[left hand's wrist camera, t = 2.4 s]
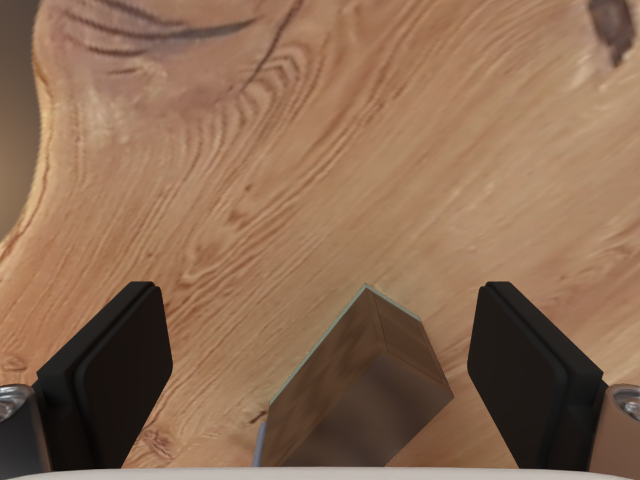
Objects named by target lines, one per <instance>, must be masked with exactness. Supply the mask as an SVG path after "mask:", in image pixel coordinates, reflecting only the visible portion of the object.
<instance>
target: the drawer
mask: <svg viewBox="0 0 640 480" xmlns="http://www.w3.org/2000/svg"><path fill="white" fill-rule="evenodd" d="M266 424H267V422H264V423H263V424H262V425H261V426H260V428H259V431H258V436H257V441H256V447H255V452H254V457H253V462H252V467H259V465H260V459H261V453H262V447H263V441H264V436H265V430H266Z"/></svg>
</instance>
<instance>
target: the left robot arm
mask: <svg viewBox="0 0 640 480" xmlns="http://www.w3.org/2000/svg"><path fill="white" fill-rule="evenodd" d="M172 369H173V361H172V355H171V349H170V343H169V336H168V330H167V324H166V318H165V311H164V305H163V299H162V293H161V289H160V287H158V286H155V285H154V283H153V282H130V283H129V284H128V285H127V286H126V287H125V288H123V289H122V290H121V291H120V292H119V293H118V294H117V295H116V296H115V297H114V298H113V299H112V300H111V301H110V302H109V303H108V304H107V305H106V306H105V307H104V308H103V309H102V310H101V311H100V312H99V313H98V314H96V315H95V316H94V317H93V318H92V319H91V320H90V321H89V322H88V323H87V324H86V325H85V326H84V327H83V328H82V329H81V330H80V331H79V332H78V333H77V334H76V335H75V336H74V337H73V338H72V339H71V340H69V341H68V342H67V343H66V344H65V345H64V346H63V347H62V348H61V349H60V350H59V351H58V352H57V353H56V354H55V355H54V356H53V357H52V358H51V359H50V360H49V361H48V362H47V363H46V364H45V365H43V366H42V367H41V368H40V369H39V370H38V371H37V372H36V373H37V376H38V380H37V381H36V382H35V383H34V384H33V385H32V386H28V385H26V384H9V385H3V386H0V480H640V386H637V385H631V384H614V385H612V386H608V385H607V384H606V383H605V382H604V381H603V380H602V376H603V373H604V372H603V371H602V370H601V369H600V368H599V367H598V366H597V365H595V364H594V363H593V362H592V361H591V360H590V359H589V358H588V357H587V356H586V355H585V354H584V353H583V352H582V351H581V350H580V349H579V348H578V347H577V346H576V345H575V344H574V343H573V342H572V341H571V340H569V339H568V338H567V337H566V336H565V335H564V334H563V333H562V332H561V331H560V330H559V329H558V328H557V327H556V326H555V325H554V324H553V323H552V322H551V321H550V320H549V319H548V318H547V317H546V316H545V315H544V314H542V313H541V312H540V311H539V310H538V309H537V308H536V307H535V306H534V305H533V304H532V303H531V302H530V301H529V300H528V299H527V298H526V297H525V296H524V295H523V294H522V293H521V292H520V291H519V290H518V289H517V288H515V287H514V286H513V285H512V284H511V283H510V282H487V283H486V285H485V286H482V287H480V289H479V293H478V299H477V305H476V311H475V318H474V324H473V330H472V336H471V343H470V349H469V355H468V361H467V369H468V373H469V376H470V378H471V380H472V382H473V383H474V385H475V387H476V389H477V391H478V393H479V395H480V396H481V398H482V400H483V402H484V404H485V406H486V408H487V409H488V411H489V413H490V415H491V417H492V419H493V420H494V422H495V424H496V426H497V428H498V430H499V432H500V433H501V435H502V437H503V439H504V441H505V443H506V445H507V446H508V448H509V450H510V452H511V454H512V456H513V458H514V459H515V461H516V463H517V465H518V467H519V469H498V468H449V467H192V468H142V469H121V467H122V465H123V463H124V461H125V459H126V458H127V456H128V454H129V452H130V450H131V448H132V446H133V445H134V443H135V441H136V439H137V437H138V435H139V433H140V432H141V430H142V428H143V426H144V424H145V422H146V420H147V419H148V417H149V415H150V413H151V411H152V409H153V408H154V406H155V404H156V402H157V400H158V398H159V396H160V395H161V393H162V391H163V389H164V387H165V385H166V383H167V382H168V380H169V378H170V376H171V373H172Z"/></svg>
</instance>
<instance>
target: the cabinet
mask: <svg viewBox="0 0 640 480" xmlns="http://www.w3.org/2000/svg"><path fill="white" fill-rule="evenodd" d="M453 398H454V395H453V393H452V391H451V388H450V386H449V384H448V382H447V379H446V377H445V375H444V373H443V370H442V368H441V366H440V364H439V361H438V359H437V357H436V355H435V352H434V350H433V348H432V346H431V343H430V341H429V339H428V337H427V334H426V332H425V330H424V327H423V325H422V323H421V320H420V318H419V317H418V316H416V315H414V314H413V313H411V312H410V311H408V310H407V309H405V308H403V307H402V306H400V305H399V304H397V303H396V302H394V301H392V300H391V299H389V298H388V297H386V296H384V295H383V294H381V293H380V292H378V291H377V290H375V289H373V288H372V287H370V286H369V285H367V284H366V283H365V284H364V285H363V287H362V288H361V289H360V290H359V291H358V293H357V294H356V295H355V296H354V298H353V299H352V300H351V301H350V303H349V304H348V305H347V306H346V308H345V309H344V310H343V311H342V313H341V314H340V315H339V316H338V317H337V319H336V320H335V321H334V322H333V324H332V325H331V326H330V327H329V329H328V330H327V331H326V332H325V334H324V335H323V336H322V337H321V338H320V340H319V341H318V342H317V343H316V345H315V346H314V347H313V348H312V350H311V351H310V352H309V353H308V355H307V356H306V357H305V358H304V360H303V361H302V362H301V363H300V364H299V366H298V367H297V368H296V369H295V371H294V372H293V373H292V374H291V376H290V377H289V378H288V379H287V381H286V382H285V383H284V384H283V386H282V387H281V388H280V389H279V390H278V392H277V393H276V394H275V395H274V397H273V398H272V399H271V400H270V405H269V412H268V418H267V424H266V430H265V436H264V441H263V447H262V453H261V459H260V465H259V467H384V466H385V465H386V464H387V463H388V462H389V461H390V460H391V459H392V458H393V457H394V456H395V455H396V454H397V453H398V452H399V451H400V450H401V449H402V448H403V447H404V446H405V445H406V444H407V443H408V442H409V441H410V440H411V439H412V438H413V437H414V436H415V435H416V434H417V433H418V432H419V431H420V430H421V429H422V428H424V427H425V426H426V425H427V424H428V423H429V422H430V421H431V420H432V419H433V418H434V417H435V416H436V415H437V414H438V413H439V412H440V411H441V410H442V409H443V408H444V407H445V406H446V405H447V404H448V403H449V402H450V401H451V400H452V399H453Z"/></svg>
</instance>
